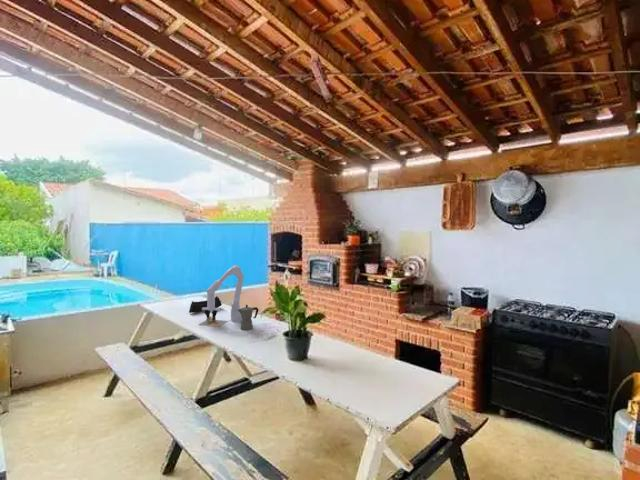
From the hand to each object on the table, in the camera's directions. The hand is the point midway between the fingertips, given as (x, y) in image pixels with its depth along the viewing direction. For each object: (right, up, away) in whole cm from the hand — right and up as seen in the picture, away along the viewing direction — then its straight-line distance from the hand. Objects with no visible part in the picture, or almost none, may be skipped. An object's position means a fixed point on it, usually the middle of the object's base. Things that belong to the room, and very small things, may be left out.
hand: (211, 319), depth 286 cm
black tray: (-15, 0, +34) cm, 37 cm away
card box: (0, -1, 0) cm, 1 cm away
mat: (+3, -2, -5) cm, 6 cm away
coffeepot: (+32, -3, -16) cm, 36 cm away
